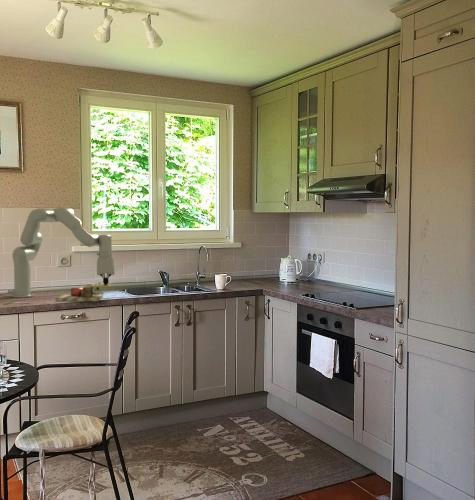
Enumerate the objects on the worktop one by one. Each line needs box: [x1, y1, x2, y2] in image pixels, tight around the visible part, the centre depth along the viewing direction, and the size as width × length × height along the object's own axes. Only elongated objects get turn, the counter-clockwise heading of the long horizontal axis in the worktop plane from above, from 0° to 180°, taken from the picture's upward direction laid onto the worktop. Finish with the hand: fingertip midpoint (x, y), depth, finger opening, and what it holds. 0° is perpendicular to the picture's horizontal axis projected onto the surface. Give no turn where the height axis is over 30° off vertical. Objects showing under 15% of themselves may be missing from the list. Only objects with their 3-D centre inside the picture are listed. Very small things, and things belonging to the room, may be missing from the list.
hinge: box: [94, 280, 104, 295], centre depth 366 cm, size 17×5×10 cm, turn 11°
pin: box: [70, 287, 105, 296], centre depth 345 cm, size 19×5×5 cm, turn 93°
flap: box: [91, 282, 112, 288], centre depth 346 cm, size 1×10×11 cm
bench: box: [56, 284, 104, 302], centre depth 345 cm, size 25×14×8 cm, turn 94°
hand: (105, 284), depth 346 cm, fingers closed
